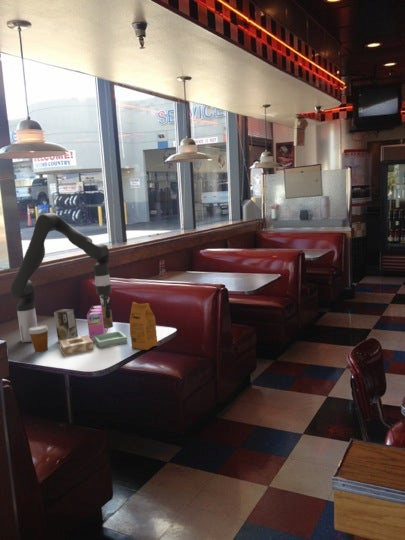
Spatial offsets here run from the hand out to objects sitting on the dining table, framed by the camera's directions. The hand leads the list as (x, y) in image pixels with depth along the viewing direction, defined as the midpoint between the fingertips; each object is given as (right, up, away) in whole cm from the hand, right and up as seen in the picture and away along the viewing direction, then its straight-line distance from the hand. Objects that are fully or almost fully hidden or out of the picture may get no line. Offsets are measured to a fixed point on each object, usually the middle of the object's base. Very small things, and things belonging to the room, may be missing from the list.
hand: (107, 316), depth 253 cm
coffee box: (-24, -14, +14) cm, 31 cm away
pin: (0, -5, +1) cm, 5 cm away
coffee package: (+20, -14, -11) cm, 27 cm away
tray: (+1, -13, +2) cm, 13 cm away
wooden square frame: (-14, -16, -5) cm, 22 cm away
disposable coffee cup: (-33, -17, -2) cm, 37 cm away
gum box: (-8, -11, +22) cm, 26 cm away
